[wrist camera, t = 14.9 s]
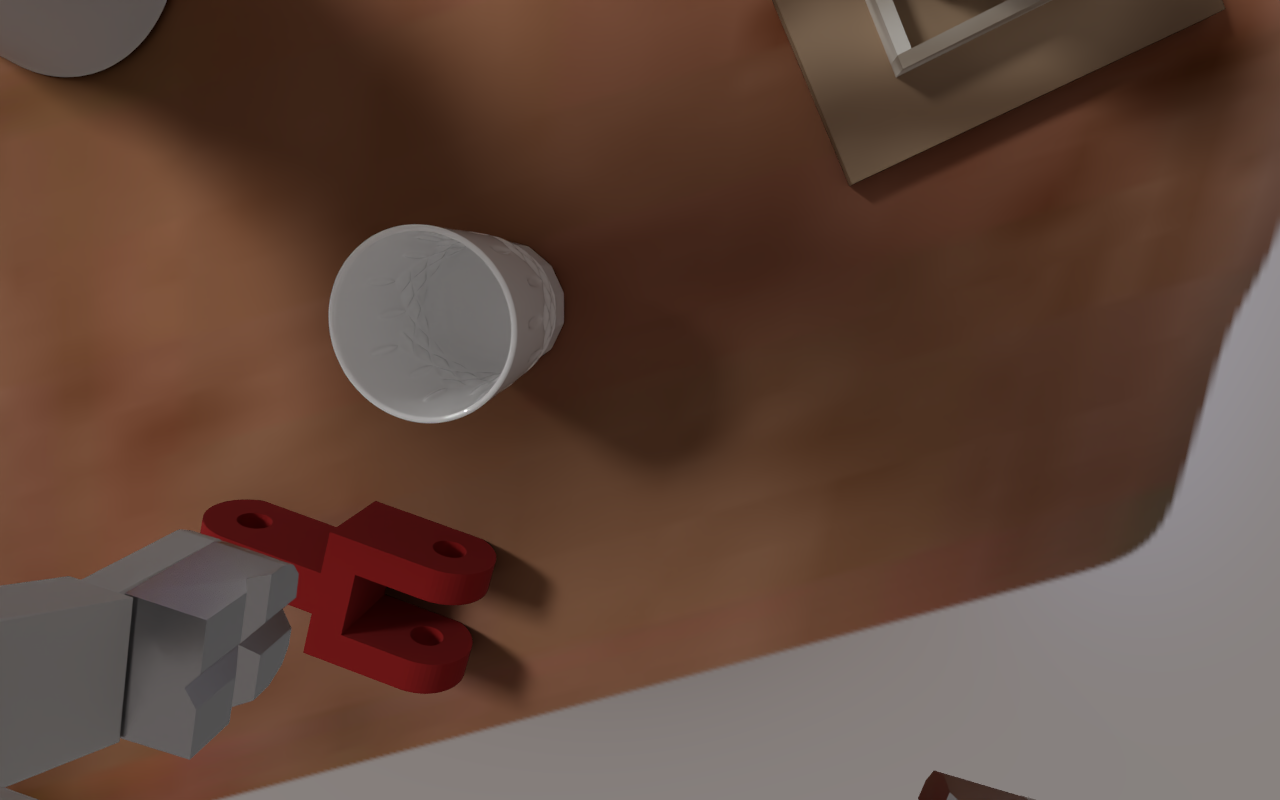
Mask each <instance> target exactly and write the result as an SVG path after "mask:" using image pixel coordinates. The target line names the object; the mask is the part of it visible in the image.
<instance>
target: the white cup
mask: <svg viewBox="0 0 1280 800" xmlns="http://www.w3.org/2000/svg"><path fill="white" fill-rule="evenodd" d="M563 324H564V292H563V290H562V288H561V286H560V283H559V281H558V279H557V277H556V275H555V273H554V270H553V268H552V266H551V265H550V264H549V263H548V262H546V261H545V260H544V259H543V258H542V257H541V256H539V255H538V254H537V253H536V252H535V251H534V250H532V249H531V248H530V247H529V246H526V245H522V244H518V243H514V242H510V241H507V240H505V239H502V238H500V237H496V236H491V235H488V234H483V233H478V232H472V231H465V230H458V229H451V228H444V227H438V226H432V225H424V224H408V225H401V226H396V227H392V228H389V229H386V230H383V231H381V232H379V233H377V234H375V235H373V236H371V237H370V238H368V239H367V240H365V241H364V242H363V243H361V244H360V245H359V246H358V247H357V248H356V249H355V250H354V251H353V252H352V253H351V254H350V256H349V257H348V258H347V259H346V261H345V262H344V264H343V265H342V267H341V269H340V271H339V273H338V275H337V277H336V279H335V282H334V285H333V288H332V292H331V296H330V302H329V331H330V337H331V341H332V345H333V348H334V351H335V354H336V357H337V359H338V361H339V364H340V366H341V367H342V369H343V371H344V373H345V374H346V376H347V377H348V379H349V380H350V382H351V383H352V384H353V386H354V387H355V388H356V389H357V390H358V391H359V392H360V393H361V394H362V395H363V396H364V397H365V398H366V399H367V400H368V401H370V402H371V403H372V404H374V405H375V406H377V407H378V408H380V409H381V410H383V411H385V412H387V413H389V414H391V415H393V416H395V417H398V418H401V419H404V420H408V421H412V422H418V423H442V422H448V421H452V420H456V419H459V418H461V417H464V416H466V415H468V414H470V413H472V412H474V411H475V410H477V409H478V408H480V407H481V406H483V405H484V404H485V403H487V402H488V401H489V400H491V399H492V398H493V397H495V396H496V395H497V394H499V393H500V392H501V391H503V390H504V389H506V388H507V387H509V386H510V385H511V384H513V383H514V382H515V381H516V380H518V379H519V378H520V377H521V376H522V375H523V374H525V373H526V372H527V371H528V370H529V369H531V368H532V367H533V366H534V365H535V363H536V362H537V361H538V360H539V358H541V357H542V356H543V355H544V354H546V353H547V352H548V351H550V350H551V349H552V347H553V345H554V343H555V341H556V339H557V337H558V334H559V332H560V330H561V328H562V326H563Z"/></svg>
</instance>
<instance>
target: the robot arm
mask: <svg viewBox="0 0 1280 800" xmlns="http://www.w3.org/2000/svg"><path fill="white" fill-rule="evenodd" d="M166 1H167V0H0V56H1V57H3V58H5V59H7V60H9V61H11V62H13V63H15V64H17V65H19V66H21V67H23V68H25V69H28V70H30V71H33V72H36V73H40V74H44V75H49V76H56V77H78V76H84V75H89V74H93V73H96V72H99V71H102V70H104V69H106V68H109V67H111V66H113V65H114V64H116V63H118V62H119V61H121V60H122V59H124V58H125V57H126V56H128V55H129V54H130V53H131V52H132V51H134V50H135V49H136V48H137V47H138V46H139V45H140V44H141V43H142V41H143V40H144V39H145V38H146V37H147V35H148V34H149V33H150V31H151V30H152V28H153V27H154V25H155V24H156V22H157V20H158V19H159V17H160V15H161V13H162V11H163V8H164V6H165V4H166ZM298 577H299V573H298V572H297V570H296V568H295V566H294V565H293V564H290V563H287V562H284V561H281V560H278V559H275V558H272V557H269V556H267V555H264V554H261V553H258V552H255V551H252V550H249V549H246V548H243V547H240V546H237V545H234V544H232V543H229V542H226V541H221V540H220V539H218V538H214V537H211V536H208V535H205V534H201V533H198V532H195V531H191V530H180V529H179V530H177V531H175V532H173V533H171V534H169V535H167V536H165V537H163V538H161V539H159V540H157V541H156V542H154V543H152V544H150V545H148V546H146V547H144V548H142V549H140V550H138V551H136V552H134V553H132V554H130V555H128V556H126V557H124V558H123V559H121V560H119V561H117V562H115V563H113V564H111V565H109V566H107V567H105V568H103V569H101V570H99V571H97V572H95V573H93V574H92V575H90V576H88V577H86V578H84V579H82V580H79V579H76V578H73V577H70V576H67V577H60V578H53V579H46V580H39V581H31V582H24V583H17V584H10V585H2V586H0V800H37V799H35V798H32V797H29V796H26V795H24V794H21V793H18V792H15V791H12V790H10V789H7V788H5V787H7V786H10V785H12V784H15V783H17V782H20V781H22V780H25V779H27V778H30V777H32V776H35V775H37V774H40V773H42V772H45V771H47V770H50V769H52V768H55V767H57V766H60V765H62V764H65V763H67V762H70V761H72V760H75V759H77V758H80V757H82V756H85V755H87V754H90V753H93V752H95V751H98V750H100V749H103V748H105V747H108V746H110V745H113V744H115V743H118V742H119V741H120V738H122V739H125V740H129V741H132V742H135V743H138V744H141V745H145V746H148V747H151V748H154V749H157V750H161V751H164V752H167V753H170V754H173V755H177V756H180V757H183V758H186V759H189V760H190V759H191V758H192V757H193V756H194V755H195V754H196V753H197V752H198V751H200V750H201V749H202V748H203V747H204V746H205V745H206V744H207V743H208V742H209V741H210V740H211V739H212V738H214V737H215V736H216V735H217V734H218V733H219V732H220V731H221V730H222V729H223V728H224V727H225V726H227V725H228V724H229V720H230V714H231V707H233V706H236V705H240V704H243V703H246V702H249V701H253V700H254V699H255V698H256V697H257V696H258V695H259V694H260V693H261V692H262V691H263V690H264V689H265V688H266V687H268V686H269V684H270V682H271V681H272V679H273V678H274V676H275V674H276V673H277V671H278V670H279V668H280V666H281V665H282V662H283V659H284V657H285V654H286V651H287V648H288V645H289V639H290V633H291V626H290V624H289V622H288V620H287V618H286V615H285V613H284V611H283V608H284V607H285V606H287V605H288V604H289V603H290V602H291V601H292V600H294V599H295V598H296V594H297V585H298ZM918 799H919V800H1034V799H1031V798H1027V797H1024V796H1018V795H1015V794H1012V793H1008V792H1005V791H1002V790H998V789H994V788H991V787H988V786H985V785H981V784H978V783H974V782H971V781H968V780H964V779H961V778H958V777H954V776H950V775H947V774H944V773H941V772H937V771H933V772H932V774H931V775H930V776H929V777H928V779H927V780H926V781H925V784H924V786H923V788H922V791H921V793H920V795H919V797H918Z"/></svg>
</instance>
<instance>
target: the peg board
mask: <svg viewBox="0 0 1280 800" xmlns="http://www.w3.org/2000/svg"><path fill="white" fill-rule="evenodd" d="M772 1H773V3H774V6H775V8H776V11H777V13H778V15H779V18H780V20H781V23H782V25H783V27H784V30H785V32H786V35H787V37H788V40H789V42H790V44H791V47H792V49H793V52H794V54H795V56H796V59H797V61H798V64H799V66H800V68H801V71H802V73H803V76H804V78H805V80H806V83H807V85H808V88H809V90H810V93H811V95H812V97H813V100H814V102H815V105H816V107H817V109H818V112H819V114H820V117H821V119H822V121H823V124H824V126H825V129H826V131H827V133H828V136H829V138H830V141H831V143H832V145H833V148H834V150H835V153H836V155H837V158H838V160H839V162H840V165H841V167H842V170H843V172H844V174H845V177H846V179H847V182H848V184H849V186H850V185H853V184H855V183H857V182H859V181H861V180H863V179H865V178H868V177H870V176H872V175H874V174H876V173H878V172H880V171H882V170H885V169H887V168H889V167H891V166H893V165H895V164H897V163H899V162H902V161H904V160H906V159H908V158H910V157H912V156H914V155H916V154H919V153H921V152H923V151H925V150H927V149H929V148H931V147H933V146H936V145H938V144H940V143H942V142H944V141H946V140H948V139H951V138H953V137H955V136H957V135H959V134H961V133H963V132H965V131H968V130H970V129H972V128H974V127H976V126H978V125H980V124H982V123H985V122H987V121H989V120H991V119H993V118H995V117H997V116H999V115H1002V114H1004V113H1006V112H1008V111H1010V110H1012V109H1014V108H1016V107H1019V106H1021V105H1023V104H1025V103H1027V102H1029V101H1031V100H1034V99H1036V98H1038V97H1040V96H1042V95H1044V94H1046V93H1048V92H1051V91H1053V90H1055V89H1057V88H1059V87H1061V86H1063V85H1065V84H1068V83H1070V82H1072V81H1074V80H1076V79H1078V78H1080V77H1082V76H1085V75H1087V74H1089V73H1091V72H1093V71H1095V70H1097V69H1100V68H1102V67H1104V66H1106V65H1108V64H1110V63H1112V62H1114V61H1117V60H1119V59H1121V58H1123V57H1125V56H1127V55H1129V54H1131V53H1134V52H1136V51H1138V50H1140V49H1142V48H1144V47H1146V46H1148V45H1151V44H1153V43H1155V42H1157V41H1159V40H1161V39H1163V38H1165V37H1168V36H1170V35H1172V34H1174V33H1176V32H1178V31H1180V30H1183V29H1185V28H1187V27H1189V26H1191V25H1193V24H1195V23H1197V22H1200V21H1202V20H1204V19H1206V18H1208V17H1210V16H1212V15H1214V14H1216V13H1218V12H1220V11H1222V10H1224V9H1225V6H1224V4H1223V1H1222V0H772Z"/></svg>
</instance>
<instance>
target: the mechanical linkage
mask: <svg viewBox="0 0 1280 800" xmlns="http://www.w3.org/2000/svg"><path fill="white" fill-rule="evenodd" d="M200 533H201V534H205V535H208V536H211V537H214V538H218V539H220V540H221V541H226V542H229V543H232V544H234V545H237V546H240V547H243V548H246V549H249V550H252V551H255V552H258V553H261V554H264V555H267V556H269V557H272V558H275V559H278V560H281V561H284V562H287V563H290V564H293V565H294V566H295V568H296V570H297V572H298V573H299V577H298V585H297V594H296V598H295V599H294V600H292V601H291V602H290V603H289V604H288V605H291V606H293V607H296V608H299V609H301V610H304V611H307V612H309V613H312V615H311V620H310V624H309V629H308V634H307V638H306V643H305V647H304V652H303V653H306V654H309V655H311V656H314V657H316V658H319V659H322V660H324V661H327V662H330V663H332V664H335V665H337V666H340V667H343V668H345V669H348V670H351V671H353V672H356V673H359V674H361V675H364V676H366V677H369V678H372V679H374V680H377V681H380V682H382V683H385V684H388V685H390V686H393V687H395V688H398V689H401V690H404V691H408V692H413V693H421V694H430V693H438V692H442V691H445V690H448V689H450V688H452V687H454V686H455V685H457V684H458V683H459V682H460V681H461V679H462V678H463V676H464V673H465V669H466V666H467V662H468V659H469V655H470V651H471V648H472V643H473V641H472V636H471V634H470V632H469V630H468V629H467V628H466V627H465V626H464V625H463V624H462V623H461V622H458V621H455V620H452V619H450V618H447V617H444V616H442V615H439V614H436V613H434V612H431V611H428V610H425V609H423V608H420V607H417V606H415V605H412V604H409V603H406V602H404V601H401V600H398V599H396V598H393V597H390V596H387V595H385V590H386V586H387V587H389V588H392V589H395V590H397V591H400V592H403V593H406V594H408V595H411V596H414V597H416V598H419V599H422V600H425V601H428V602H432V603H436V604H443V605H464V604H469V603H472V602H475V601H477V600H479V599H481V598H482V597H483V596H485V594H486V593H487V591H488V587H489V584H490V580H491V577H492V573H493V569H494V566H495V562H496V553H495V551H494V549H493V548H492V547H491V546H490V545H489V544H488V543H487V542H486V541H484V540H483V539H480V538H477V537H475V536H472V535H469V534H466V533H463V532H461V531H458V530H455V529H452V528H449V527H447V526H444V525H441V524H438V523H436V522H433V521H430V520H427V519H424V518H422V517H419V516H416V515H413V514H410V513H408V512H405V511H402V510H399V509H397V508H394V507H391V506H388V505H385V504H383V503H380V502H377V501H375V502H373V503H372V504H370V505H369V506H367V507H366V508H365V509H363V510H362V511H360V512H359V513H357V514H356V515H354V516H353V517H351V518H350V519H348V520H347V521H345V522H344V523H342V524H341V525H339V526H338V527H334V526H331V525H328V524H326V523H323V522H320V521H317V520H315V519H312V518H309V517H306V516H304V515H301V514H298V513H295V512H293V511H290V510H287V509H284V508H282V507H279V506H276V505H273V504H271V503H268V502H265V501H260V500H232V501H227V502H223V503H219V504H217V505H214V506H212V507H211V508H209V509H208V510H207V511H206V512H205V513H204V516H203V520H202V526H201V532H200Z"/></svg>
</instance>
